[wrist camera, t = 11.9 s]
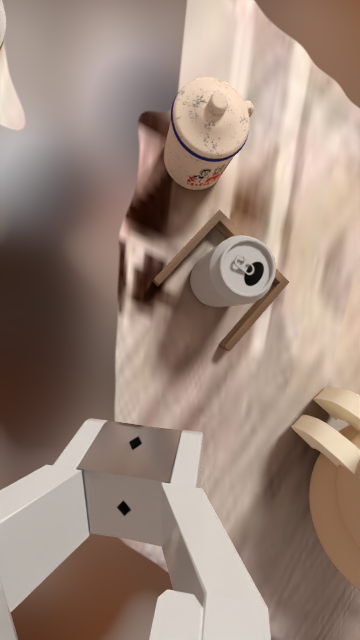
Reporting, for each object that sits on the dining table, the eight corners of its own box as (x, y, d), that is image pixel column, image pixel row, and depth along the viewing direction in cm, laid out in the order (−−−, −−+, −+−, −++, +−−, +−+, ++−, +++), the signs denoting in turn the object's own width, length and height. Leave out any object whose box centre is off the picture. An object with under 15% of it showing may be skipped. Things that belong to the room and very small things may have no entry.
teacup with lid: (185, 205, 41) (208, 161, 29) (148, 147, 40) (158, 78, 28) (251, 163, 43) (298, 106, 31) (218, 107, 42) (253, 27, 30)
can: (220, 317, 42) (258, 317, 30) (178, 287, 41) (200, 275, 29) (248, 275, 43) (295, 259, 31) (207, 244, 42) (240, 215, 30)
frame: (152, 281, 40) (153, 279, 38) (213, 215, 42) (219, 209, 39) (223, 349, 42) (229, 351, 40) (280, 284, 44) (289, 282, 41)
